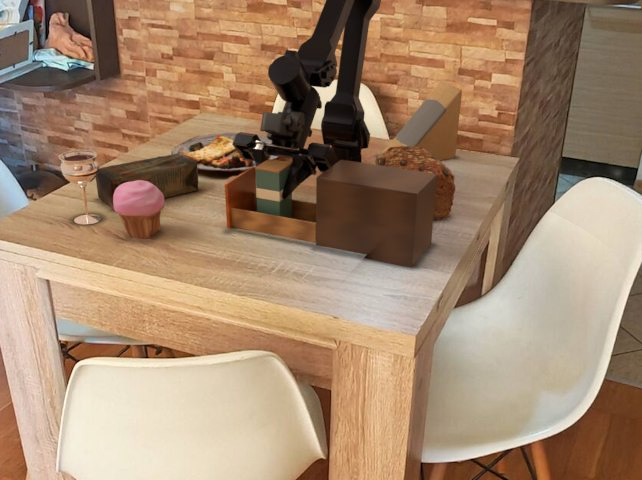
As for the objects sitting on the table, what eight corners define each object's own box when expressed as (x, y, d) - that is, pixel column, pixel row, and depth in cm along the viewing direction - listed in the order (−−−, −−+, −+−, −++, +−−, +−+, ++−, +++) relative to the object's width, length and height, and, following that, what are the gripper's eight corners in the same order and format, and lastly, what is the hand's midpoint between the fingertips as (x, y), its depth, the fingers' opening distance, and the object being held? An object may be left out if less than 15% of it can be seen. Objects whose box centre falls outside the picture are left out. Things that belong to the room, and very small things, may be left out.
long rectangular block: (257, 226, 148) (255, 167, 142) (269, 217, 152) (268, 158, 146) (280, 231, 146) (279, 171, 140) (292, 221, 150) (292, 162, 144)
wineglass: (67, 215, 154) (56, 152, 148) (103, 210, 156) (94, 148, 150) (71, 228, 149) (60, 163, 143) (108, 223, 151) (99, 159, 145)
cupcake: (152, 248, 142) (146, 193, 136) (108, 242, 144) (100, 187, 139) (175, 229, 149) (170, 176, 143) (133, 223, 151) (126, 170, 146)
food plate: (236, 186, 168) (236, 169, 166) (150, 166, 178) (148, 150, 176) (302, 154, 186) (302, 138, 184) (220, 137, 196) (219, 122, 194)
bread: (453, 219, 153) (458, 167, 148) (398, 224, 151) (402, 171, 146) (421, 185, 169) (425, 137, 163) (371, 189, 167) (373, 140, 161)
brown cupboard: (315, 249, 142) (316, 177, 135) (339, 227, 150) (341, 159, 143) (411, 267, 136) (417, 193, 129) (431, 244, 144) (437, 173, 137)
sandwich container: (377, 156, 185) (380, 87, 176) (434, 147, 190) (440, 80, 182) (397, 167, 178) (401, 96, 170) (455, 157, 184) (462, 88, 176)
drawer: (220, 229, 148) (217, 182, 144) (247, 209, 156) (245, 165, 152) (315, 247, 142) (316, 199, 137) (339, 226, 150) (340, 180, 145)
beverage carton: (201, 191, 165) (198, 158, 162) (113, 212, 156) (108, 178, 152) (182, 180, 171) (179, 148, 167) (96, 200, 161) (91, 167, 158)
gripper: (234, 85, 143) (206, 166, 141) (332, 97, 136) (304, 182, 134) (257, 120, 153) (231, 195, 151) (349, 132, 147) (323, 211, 144)
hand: (270, 195), depth 145 cm, fingers closed on long rectangular block, 4 cm apart
